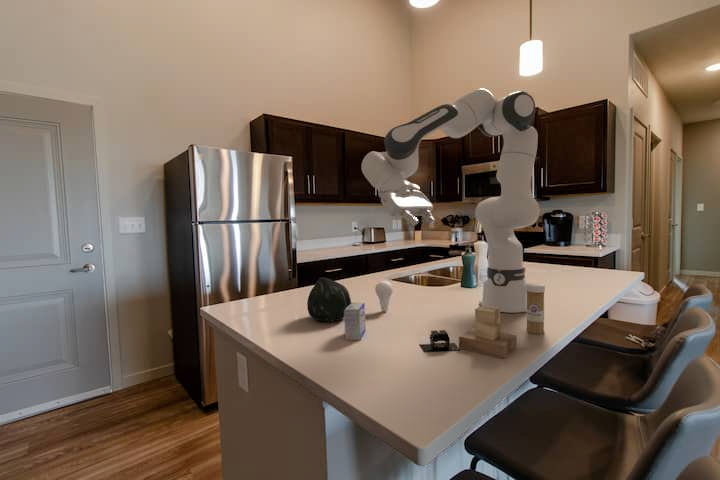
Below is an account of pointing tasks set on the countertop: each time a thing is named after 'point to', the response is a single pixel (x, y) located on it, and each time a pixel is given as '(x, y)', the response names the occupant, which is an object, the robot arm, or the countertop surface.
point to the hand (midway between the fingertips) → (424, 222)
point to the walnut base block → (488, 344)
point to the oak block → (487, 322)
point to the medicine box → (354, 321)
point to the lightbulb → (384, 294)
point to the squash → (328, 300)
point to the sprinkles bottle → (535, 308)
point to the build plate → (439, 347)
